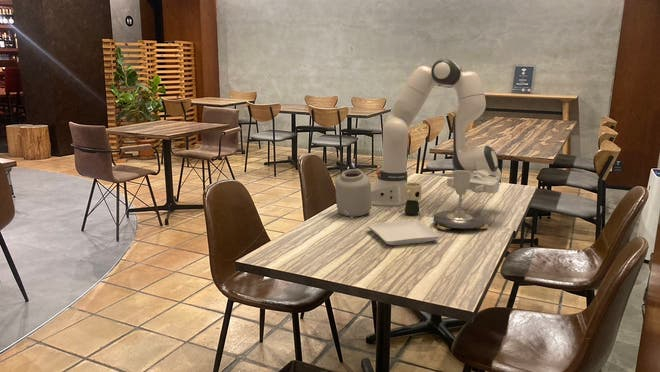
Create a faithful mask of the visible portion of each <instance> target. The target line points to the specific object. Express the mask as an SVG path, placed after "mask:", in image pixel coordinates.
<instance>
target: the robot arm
mask: <svg viewBox="0 0 660 372" xmlns="http://www.w3.org/2000/svg"><path fill="white" fill-rule="evenodd" d="M436 86H437V87H443V88H447V89H448V88H454V90H455V93H456V94H457V102H458V109H457V112H456V114H454V116H453V122H452V123H453V125H452V126H453V127H452V129H453V130H452V131H453V132H452V134H453V135H452V136H453V139H452V141H453V142H452V143H453V145H452V147H453V148H452V149H453V151H452V152H453V153H452V158H451V159H452V167H453V169H454V171H455V170H466V171H471V172H472V173H471V174H470V185H469V187H468V189H467V191H469V190H470V191H471V192H473V193H476V194H478V193H479V194H480V193H488V194H495V193H496V194H497V193H498V192H499V187H500V181H501V179H502V172H501V170H500V168H499V158H498V155H497V151H496V150H494V149H493V147H491V146H489V145H483V146H479V147H475V148H469V149H466V130H467V128H468V127H469V125H470V124H472V123H473V122H474V121H476V120H477V119H478V118H480V117H481V116H482V115H483V113H484V112H485V111H486V106H487V102H486V101H487V100H486V95H485V90H484V86H483V83H482V80H481V78H480V75H479V73H477V72H476V71H463V70H462V68H461V67H460V65H459V64H458V63H457V62H455V61H453V60H450V59H448V58H441V59H439V60H436V61H435V62H434V63H433V65H432V67H429V66H427V65H420V66H419V67H417V68H416V69H415V71H414V72H413V73H412V74H411V76H410V77H409V79H408V80H407V82H406V83H405V85H404V87H403V89H402V91H401V93H400V94H399V96H398V98H397V100H396V102H395V103H394V105H393V106H392V108H391V110H390V112H389V113H388V115H387V117H386V119H385V120H384V123H383V127H382V158H381V160H382V167H381V169H382V170H379V169H377V170H375V175H376V176H377V179H376V180H374V181H373V182H372V183H371V182H370V185H371V204H372V206H385V207H386V206H390V207H391V206H392V207H399V206H401V205H406V201H407V199H405V198H404V185H405V183H408V169H407V163H408V161H407V158H408V146H409V145H408V142H409V141H408V140H409V129H410V126H411V125H412V123H413V122H414V121H415V119H416V117H417V115H419V113H420V111H421V110H422V107H423V106H424V105H425V102H426V101H427V98H428V97H429V95H430V94H431V91H432V90H433V88H434V87H436ZM453 178H454V175H453V176H449V177H448V178H446V185H447V187H449V188H451V189H455V188H454V185H453Z"/></svg>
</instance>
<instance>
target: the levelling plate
mask: <svg viewBox="0 0 660 372" xmlns="http://www.w3.org/2000/svg"><path fill="white" fill-rule="evenodd" d="M456 210H457V209H455V210H453V209H452V210H451V209H449V210H441V211H438V212H435V213H434V214H433V222H434V223H435V224H436V228H437V229H438V230H442V231H451V230H452V229H463V230H464V229H465V230H466V229H467V230H469V229H470V230H471V229H472V230H480V231H481V230H485V229H486V230H487V229H488V228H489V225H488V224H487V223H486V222H487V221H486V220H487V218H486V217H485V216H484V215H482V214H480V213H477V212H474V211H469V210H463V211H464V212H465V216H466V218H455V217H453V215H454V213H455V211H456Z"/></svg>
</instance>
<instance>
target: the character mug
mask: <svg viewBox="0 0 660 372" xmlns="http://www.w3.org/2000/svg"><path fill="white" fill-rule="evenodd" d="M404 198H405V199H407V201H406V203H405V206H404V213H405V214H408V215H413V216H414V215H415V216H416V215H419V213H420V205H419V204H420V203H419V200H421V198H422V184H421V183H419V182H407V183H405V185H404Z"/></svg>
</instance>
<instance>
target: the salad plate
mask: <svg viewBox="0 0 660 372" xmlns="http://www.w3.org/2000/svg"><path fill="white" fill-rule="evenodd" d="M366 226H367V228H368V229H369V230H370V231H371V232H373V233H374V234H375V235H377V236H378V237H379V238H380V239H381V240H382V241H383V242H384V243H385V244H387V245H389V246H400V245H401V246H402V245H412V244H421V243H427V242H433V241H435V240H438V239H439V238H440V237H441V234H439V233H437V232H436V231H434V230H433V229H431V228H430V227H429V226H428V225H426V224H424V223H423V222H422V221H420V220H419V219H408V220H394V221H387V222H386V221H385V222H378V223H377V222H376V223H368V224H366Z"/></svg>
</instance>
